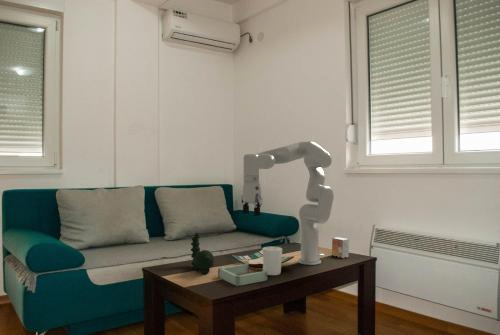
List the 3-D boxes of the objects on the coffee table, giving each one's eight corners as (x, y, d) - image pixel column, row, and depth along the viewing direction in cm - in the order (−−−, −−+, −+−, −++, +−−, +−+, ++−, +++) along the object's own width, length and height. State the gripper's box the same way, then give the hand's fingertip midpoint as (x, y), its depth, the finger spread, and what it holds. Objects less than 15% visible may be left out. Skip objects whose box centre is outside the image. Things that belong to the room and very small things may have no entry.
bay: (246, 271, 192) (246, 259, 192) (267, 280, 178) (267, 267, 178) (218, 276, 183) (218, 264, 183) (237, 286, 169) (237, 272, 169)
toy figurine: (186, 269, 202) (199, 277, 180) (185, 232, 204) (199, 236, 181) (203, 267, 206) (219, 275, 183) (203, 231, 208) (218, 234, 185)
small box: (331, 255, 228) (331, 237, 228) (338, 254, 231) (338, 236, 231) (342, 258, 221) (342, 239, 221) (348, 257, 225) (348, 238, 225)
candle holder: (286, 273, 189) (286, 249, 189) (270, 276, 183) (270, 251, 183) (273, 269, 197) (273, 245, 197) (258, 272, 191) (258, 247, 191)
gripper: (268, 179, 183) (268, 216, 183) (248, 178, 198) (248, 212, 198) (254, 180, 179) (254, 217, 179) (235, 179, 194) (235, 213, 194)
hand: (251, 214), depth 189 cm, fingers open, 9 cm apart
